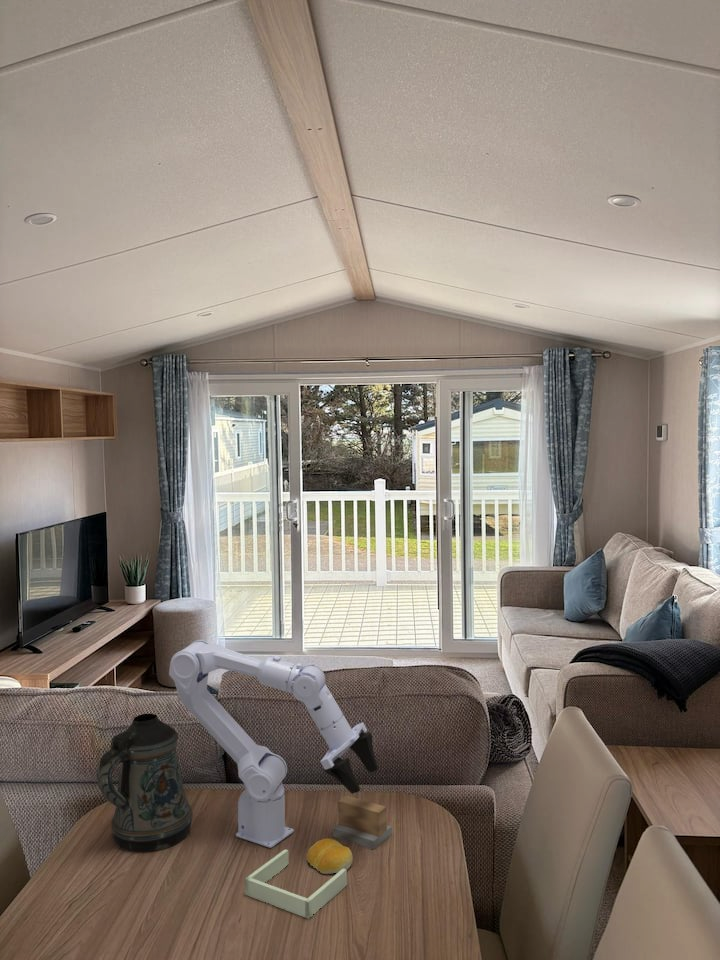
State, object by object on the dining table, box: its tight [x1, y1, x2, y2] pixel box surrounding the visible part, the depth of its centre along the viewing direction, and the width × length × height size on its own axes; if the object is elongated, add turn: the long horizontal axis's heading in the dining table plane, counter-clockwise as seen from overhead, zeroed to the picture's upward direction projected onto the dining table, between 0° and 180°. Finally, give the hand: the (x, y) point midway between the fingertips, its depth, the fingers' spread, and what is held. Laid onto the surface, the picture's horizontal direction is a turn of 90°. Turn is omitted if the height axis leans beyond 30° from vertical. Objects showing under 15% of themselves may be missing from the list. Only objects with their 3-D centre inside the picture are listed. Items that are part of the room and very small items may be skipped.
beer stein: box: [96, 713, 193, 853], centre depth 167 cm, size 16×19×25 cm
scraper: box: [332, 795, 393, 851], centre depth 167 cm, size 10×7×7 cm
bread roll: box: [306, 838, 354, 875], centre depth 157 cm, size 8×9×4 cm
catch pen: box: [244, 849, 348, 920], centre depth 148 cm, size 14×12×3 cm
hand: (365, 781), depth 163 cm, fingers open, 7 cm apart
